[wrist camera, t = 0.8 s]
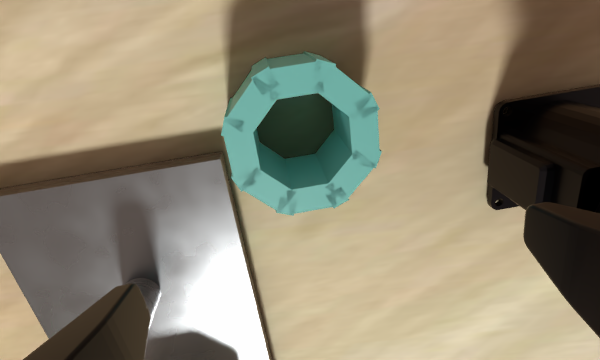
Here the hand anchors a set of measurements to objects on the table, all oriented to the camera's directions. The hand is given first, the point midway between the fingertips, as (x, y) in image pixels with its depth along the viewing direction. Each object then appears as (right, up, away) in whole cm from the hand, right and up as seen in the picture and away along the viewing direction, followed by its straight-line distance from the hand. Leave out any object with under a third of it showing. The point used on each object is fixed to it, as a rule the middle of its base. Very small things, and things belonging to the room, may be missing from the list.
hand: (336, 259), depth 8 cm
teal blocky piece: (-1, +5, +11) cm, 12 cm away
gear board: (-9, -8, +15) cm, 19 cm away
